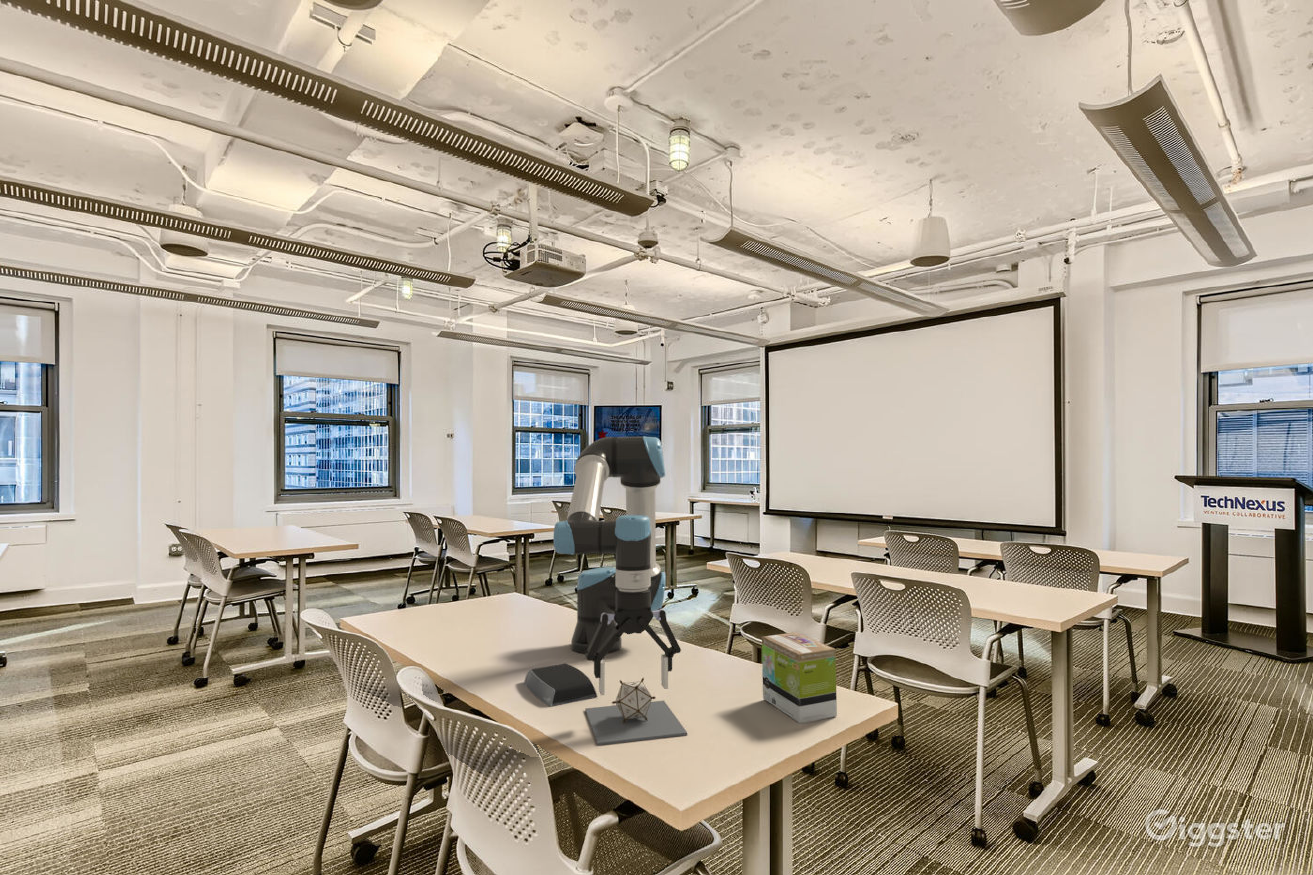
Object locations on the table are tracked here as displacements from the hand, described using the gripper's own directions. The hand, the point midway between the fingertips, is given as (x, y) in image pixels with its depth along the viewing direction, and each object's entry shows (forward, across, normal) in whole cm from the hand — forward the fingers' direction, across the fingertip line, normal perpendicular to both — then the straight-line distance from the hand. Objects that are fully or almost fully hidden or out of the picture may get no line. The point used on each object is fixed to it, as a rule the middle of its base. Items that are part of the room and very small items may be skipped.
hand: (633, 690), depth 130 cm
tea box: (+7, +37, -2) cm, 38 cm away
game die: (+6, 0, 0) cm, 6 cm away
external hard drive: (+8, -13, +24) cm, 28 cm away
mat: (+7, 0, 0) cm, 7 cm away
